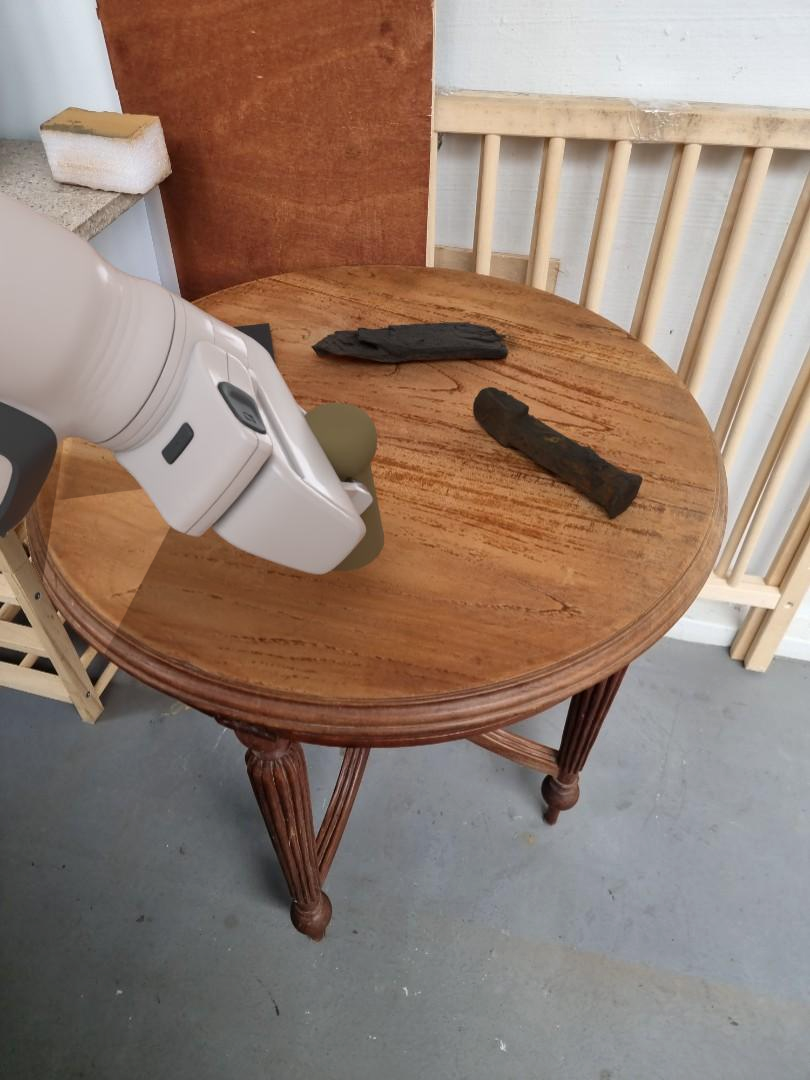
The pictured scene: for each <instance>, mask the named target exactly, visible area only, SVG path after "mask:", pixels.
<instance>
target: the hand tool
mask: <svg viewBox="0 0 810 1080" xmlns="http://www.w3.org/2000/svg"><path fill="white" fill-rule="evenodd" d="M472 403H473V404H472V414H473V417H474V419H475V421H477V422H478V423H479V425H480V426H481V427H482V428H483V429H484V430H485V431H486V432H487V433H488V434H489V435H491V436H492V437H493V438H494V439H495V440H496V441H497V442H499V443H500V445H502V447H503V448H512V447H513V448H516V449H518V450H519V451H521V452H522V453H523V454H525V455H526V456H527V457H528V458H530V459H532V460H533V461H535V462H536V463H537V464H538V465H539V466H542V467H544V468H545V469H548V470H549V471H551V472H552V473H554V474H555V475H557V476H558V477H560V478H561V479H563V480H564V482H566V483H568V484H569V485H571V486H572V487H574V488H575V489H577V490H578V491H581V492H582V493H584V495H586V496H588V497H589V498H591V499H593V500H594V501H596V502H598V503H599V504H601V505H602V506H604V507H605V508H606V510H607V514H608V517H609V518H610V519H615V518H617V516H619V515H621V514H623V513H624V512H625V511H626V510H627V509H628V508H629V507H630V506H631V505H632V504H633V502H634V500H635V499H636V498H637V495H638V493H639V491H640V488H641V486H642V483H643V477H642V475H639V474H637V473H633V472H628V471H626V470H622V469H621V468H619V467H617V466H616V465H614V464H613V463H612V462H610V461H607V460H606V459H605V458H603V457H601V456H600V455H599V454H598V453H597V452H596V451H595V450H594V449H592V446H587V445H581V444H580V443H578V442H577V441H575V440H573V439H571V438H569V437H567V436H566V435H564V434H562V433H561V432H559V431H558V430H556V429H554V428H553V427H551V426H549V425H548V424H546V422H542V421H541V420H540V419H538V418H536V417H535V416H534V414H530V413H529V411H530V406H529V405H528V404H526V403H525V402H523V401H521V400H519V399H517V398H516V397H515V396H513V395H512V394H508V392H507V391H505V390H500V389H498V388H497V387H493V386H488V387H484V388H481V390H479V391H478V392H477V394H476V396H475V397H474V401H473V402H472Z"/></svg>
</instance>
